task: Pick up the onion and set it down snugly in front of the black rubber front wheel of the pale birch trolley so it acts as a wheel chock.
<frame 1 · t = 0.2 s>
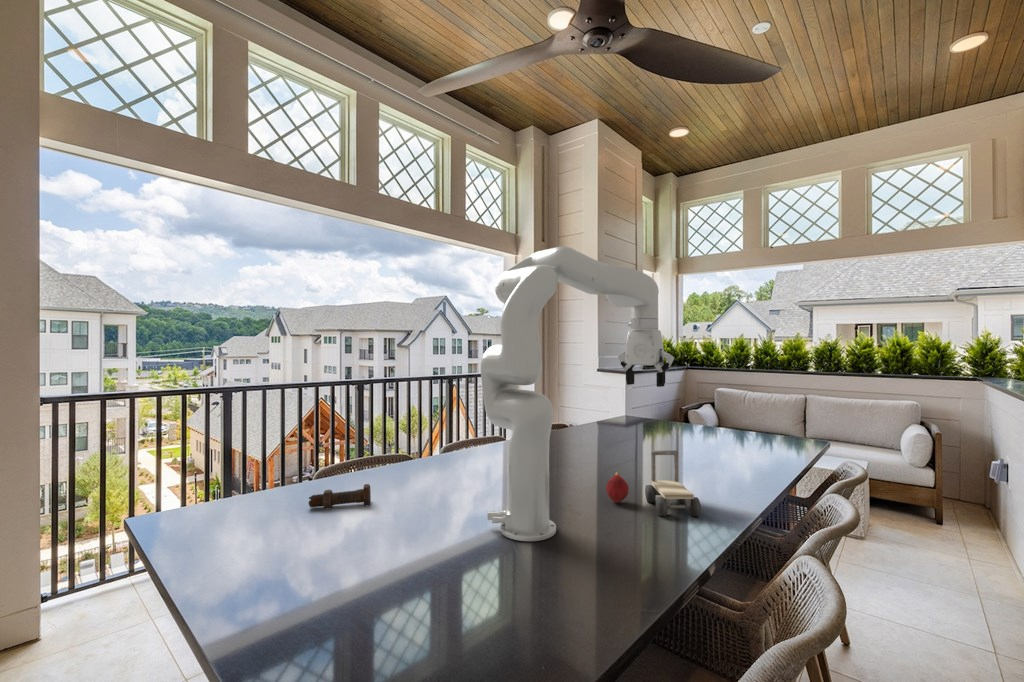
hand: (645, 385, 135), 30 cm above the table, tool pointing down, fingers open, 9 cm apart
onion: (617, 503, 125), on the table
bolt: (340, 507, 124), on the table
trolley: (671, 508, 121), on the table
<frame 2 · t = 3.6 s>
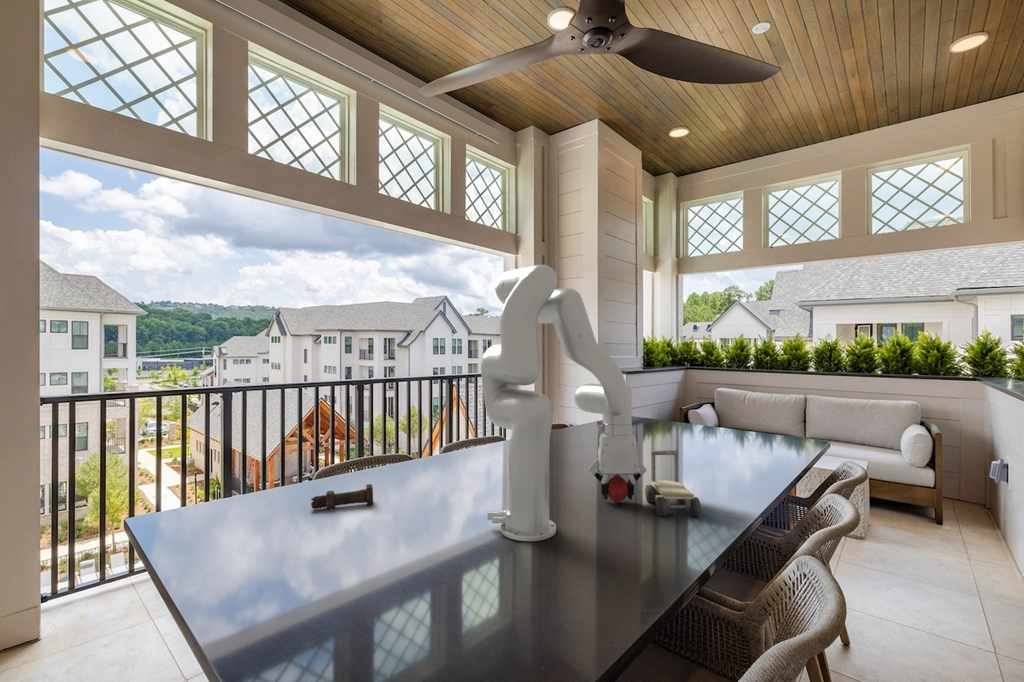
hand: (617, 497, 125), 2 cm above the table, tool pointing down, fingers closed on onion, 5 cm apart
onion: (617, 503, 125), on the table, touching gripper
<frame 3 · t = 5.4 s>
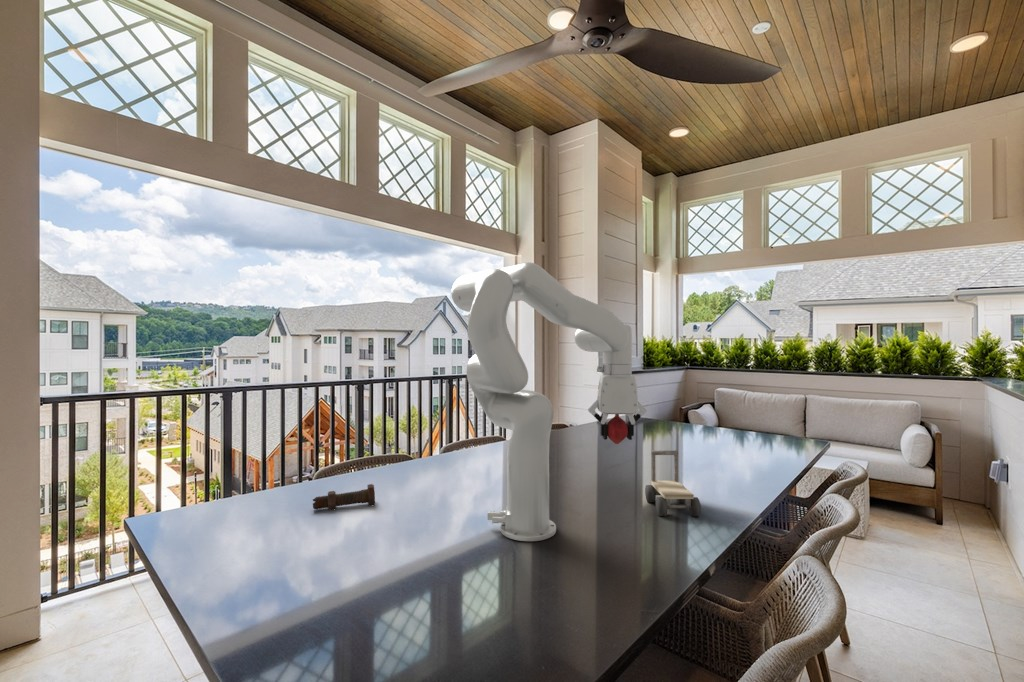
hand: (616, 438, 125), 17 cm above the table, tool pointing down, fingers closed on onion, 5 cm apart
onion: (616, 444, 125), point 15 cm above the table, touching gripper
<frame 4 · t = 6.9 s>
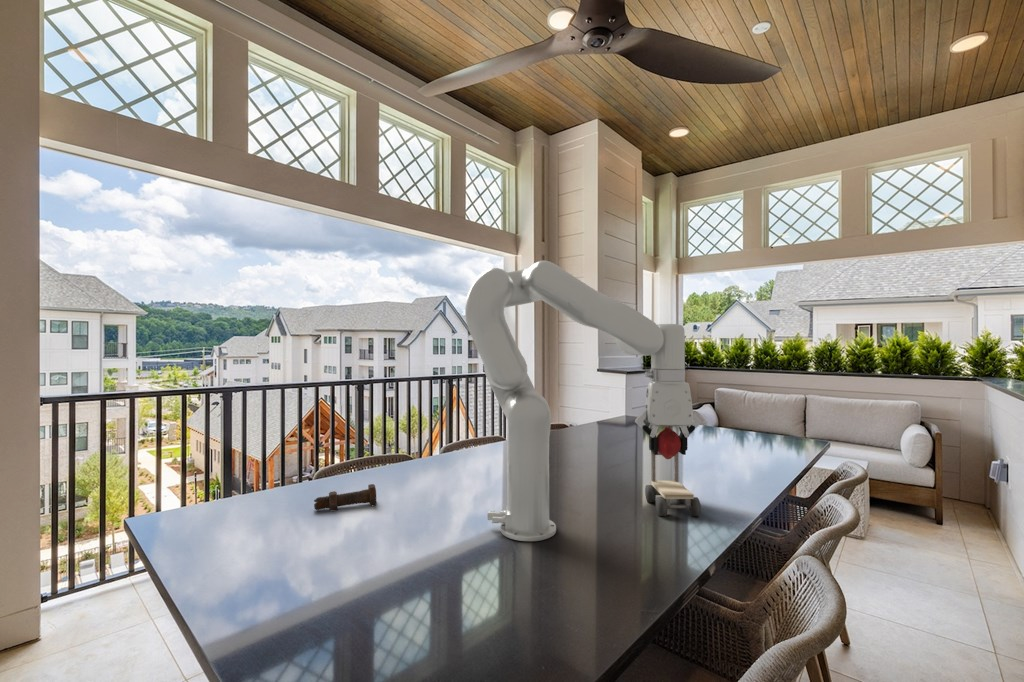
hand: (668, 452, 111), 17 cm above the table, tool pointing down, fingers closed on onion, 5 cm apart
onion: (668, 460, 111), point 15 cm above the table, touching gripper
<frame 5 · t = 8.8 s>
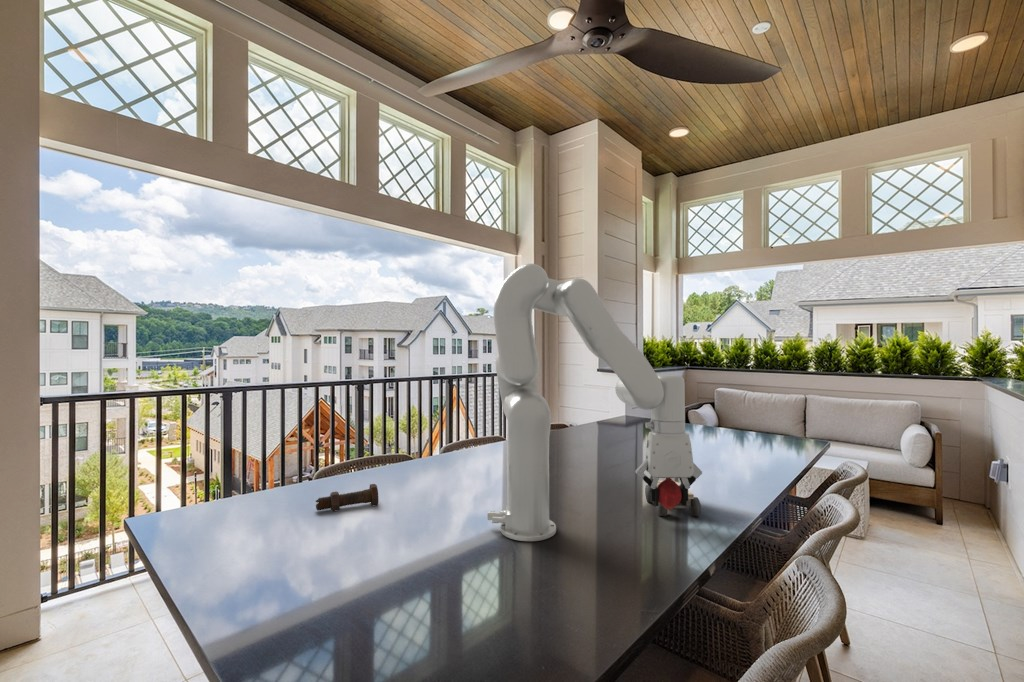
hand: (668, 503, 111), 5 cm above the table, tool pointing down, fingers closed on onion, 5 cm apart
onion: (668, 510, 111), point 3 cm above the table, touching gripper
when the fingers open (3 cm above the table, at t = 10.1 s): onion drops 1 cm, on the table.
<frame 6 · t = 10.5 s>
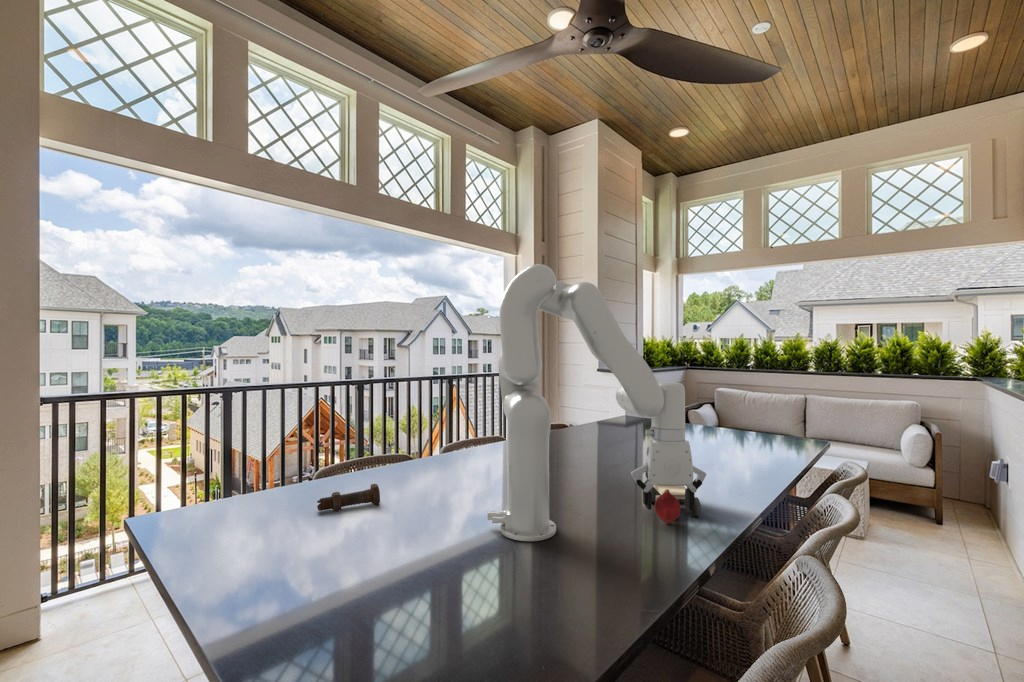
hand: (668, 507, 111), 4 cm above the table, tool pointing down, fingers open, 9 cm apart
onion: (667, 524, 111), on the table
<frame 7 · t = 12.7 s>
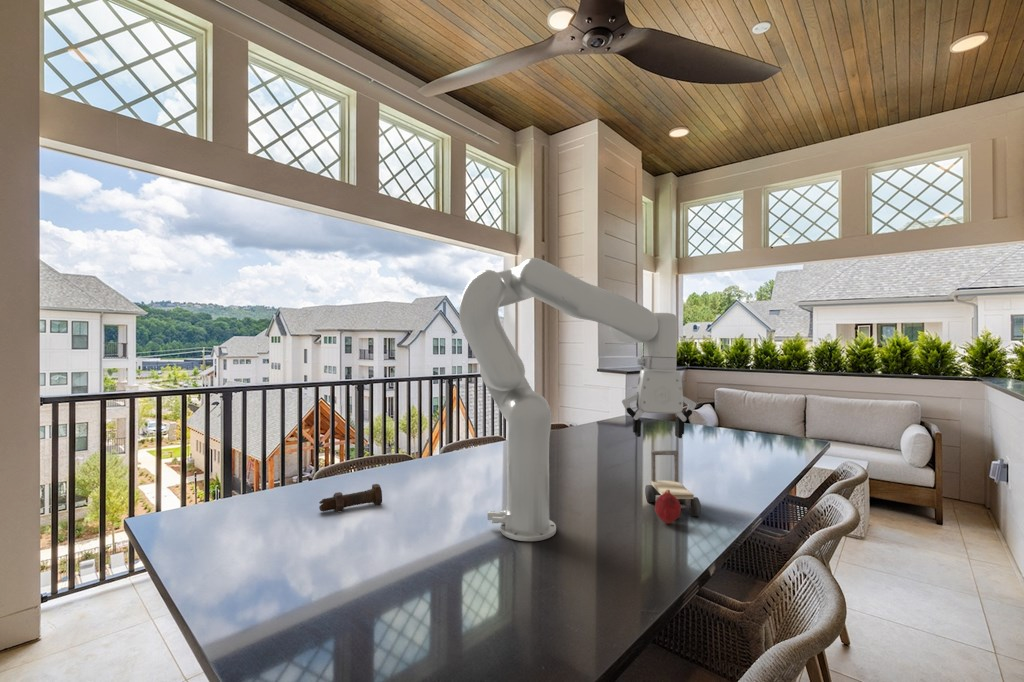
hand: (658, 436, 113), 20 cm above the table, tool pointing down, fingers open, 9 cm apart
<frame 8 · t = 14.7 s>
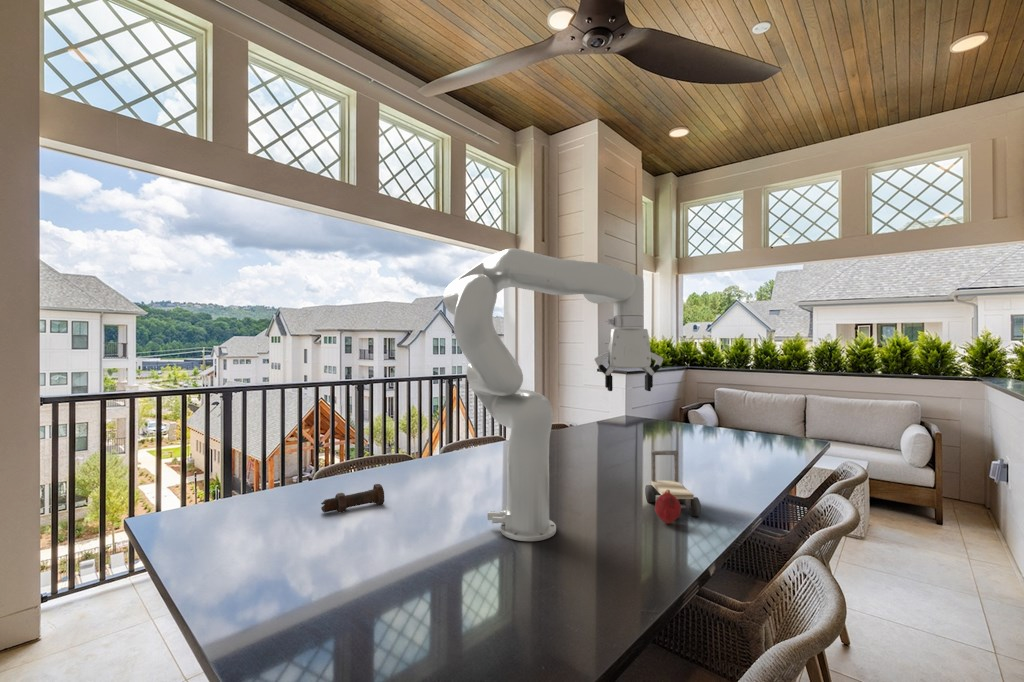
hand: (628, 390, 121), 30 cm above the table, tool pointing down, fingers open, 9 cm apart
at the end: onion inside the target area (0.4 cm from its centre), on the table; the gripper is holding nothing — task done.
